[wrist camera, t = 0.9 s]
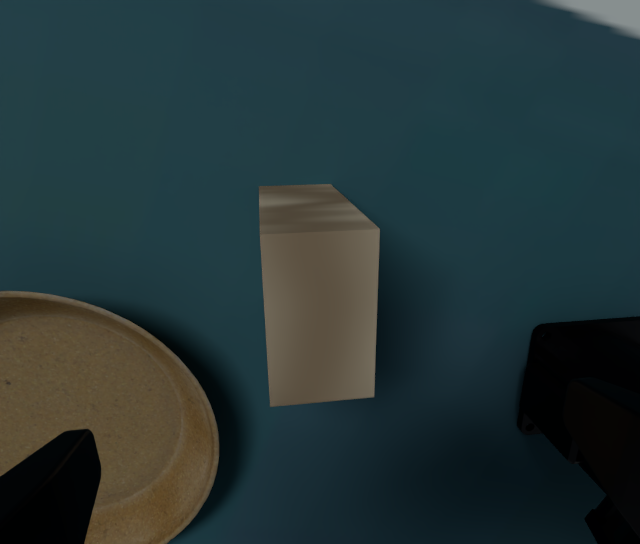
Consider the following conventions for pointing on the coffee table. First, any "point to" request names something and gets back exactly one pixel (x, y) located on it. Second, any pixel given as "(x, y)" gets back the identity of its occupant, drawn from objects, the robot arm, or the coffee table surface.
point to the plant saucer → (107, 412)
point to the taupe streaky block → (318, 294)
